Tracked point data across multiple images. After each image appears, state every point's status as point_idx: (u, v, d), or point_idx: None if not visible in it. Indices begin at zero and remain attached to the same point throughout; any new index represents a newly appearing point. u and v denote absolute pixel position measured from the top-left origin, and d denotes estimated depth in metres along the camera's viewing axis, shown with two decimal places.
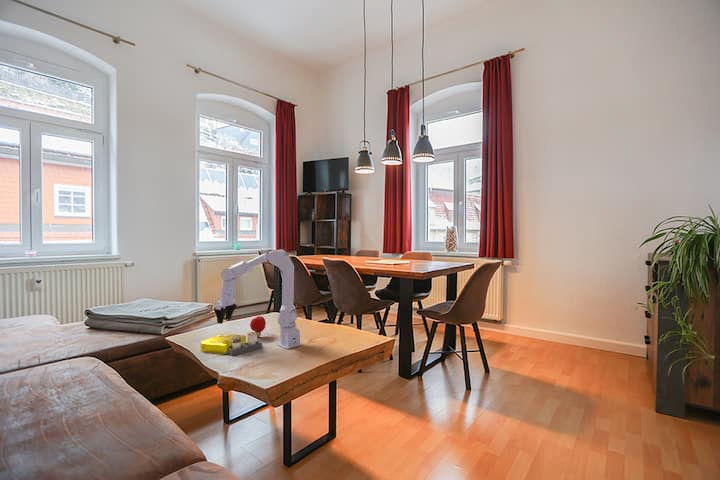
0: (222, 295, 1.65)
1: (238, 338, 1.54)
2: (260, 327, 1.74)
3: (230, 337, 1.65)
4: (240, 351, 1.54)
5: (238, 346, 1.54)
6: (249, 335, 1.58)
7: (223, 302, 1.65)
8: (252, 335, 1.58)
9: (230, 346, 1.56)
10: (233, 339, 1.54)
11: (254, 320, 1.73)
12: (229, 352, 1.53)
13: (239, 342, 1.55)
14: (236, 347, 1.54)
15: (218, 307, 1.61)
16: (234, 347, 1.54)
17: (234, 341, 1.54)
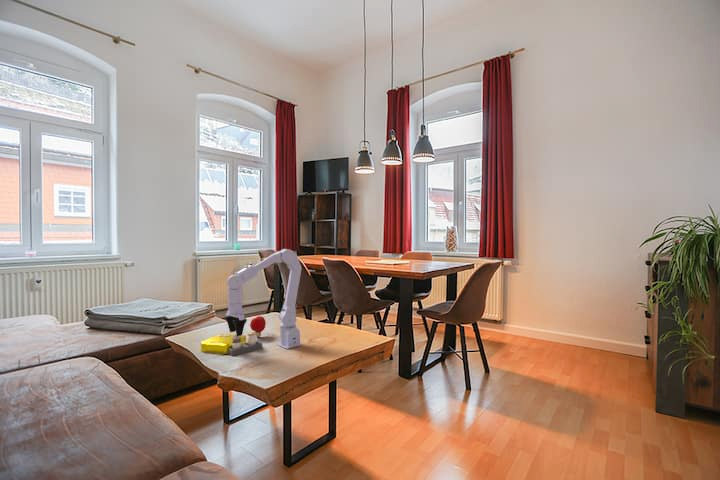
0: (235, 305, 1.52)
1: (238, 338, 1.54)
2: (260, 327, 1.74)
3: (230, 337, 1.65)
4: (240, 351, 1.54)
5: (238, 346, 1.54)
6: (249, 335, 1.58)
7: (238, 312, 1.53)
8: (252, 335, 1.58)
9: (230, 346, 1.56)
10: (233, 339, 1.54)
11: (254, 320, 1.73)
12: (229, 352, 1.53)
13: (239, 342, 1.55)
14: (236, 347, 1.54)
15: (242, 317, 1.50)
16: (234, 347, 1.54)
17: (234, 341, 1.54)
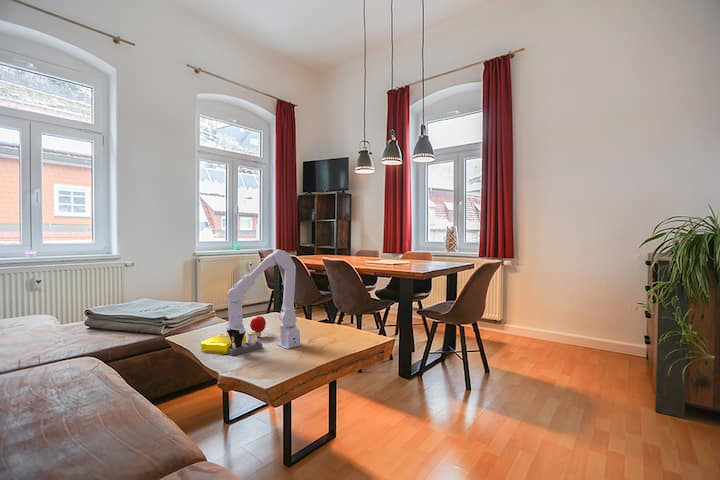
0: (235, 318, 1.53)
1: None
2: (260, 327, 1.74)
3: None
4: (240, 351, 1.54)
5: None
6: (249, 335, 1.58)
7: (238, 325, 1.53)
8: (252, 335, 1.58)
9: (230, 346, 1.56)
10: (233, 339, 1.54)
11: (254, 320, 1.73)
12: (229, 352, 1.53)
13: None
14: None
15: (243, 330, 1.50)
16: (234, 347, 1.54)
17: (234, 341, 1.54)
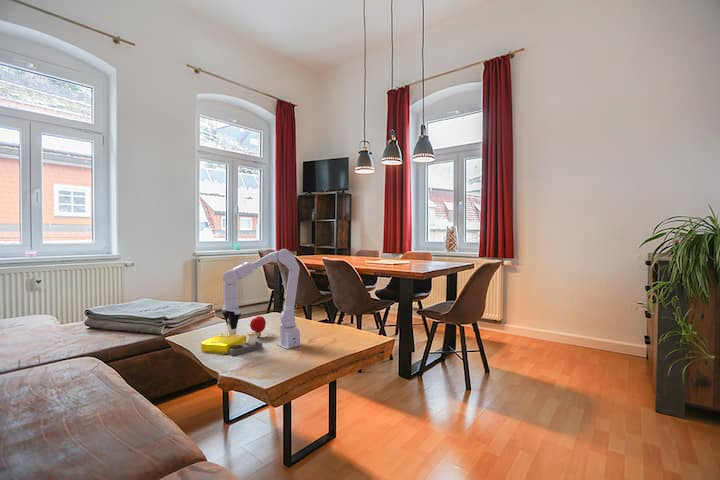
0: (231, 300, 1.55)
1: None
2: (260, 327, 1.74)
3: (230, 337, 1.65)
4: (240, 351, 1.54)
5: None
6: (249, 335, 1.58)
7: (233, 307, 1.56)
8: (252, 335, 1.58)
9: (231, 346, 1.56)
10: (228, 321, 1.56)
11: (254, 320, 1.73)
12: (229, 352, 1.53)
13: None
14: None
15: (238, 311, 1.53)
16: (229, 328, 1.56)
17: None
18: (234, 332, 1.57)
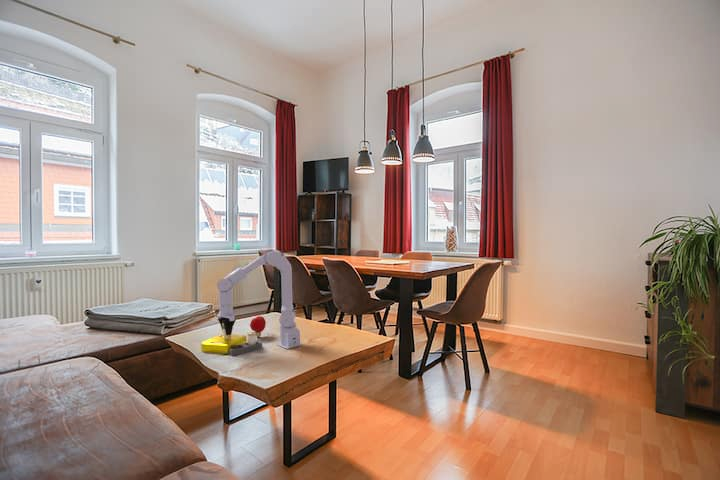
0: (226, 307, 1.59)
1: None
2: (260, 327, 1.74)
3: None
4: (240, 351, 1.54)
5: None
6: (249, 335, 1.58)
7: (228, 313, 1.60)
8: (252, 335, 1.58)
9: (231, 346, 1.56)
10: (223, 325, 1.60)
11: (254, 320, 1.73)
12: (229, 352, 1.53)
13: None
14: None
15: (233, 318, 1.57)
16: (224, 333, 1.60)
17: (224, 327, 1.60)
18: (229, 336, 1.61)
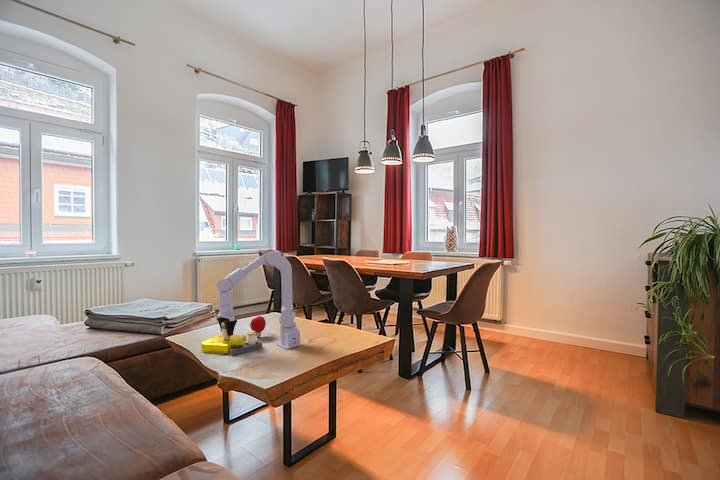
0: (226, 307, 1.59)
1: None
2: (260, 327, 1.74)
3: None
4: (240, 351, 1.54)
5: None
6: (249, 335, 1.58)
7: (228, 313, 1.60)
8: (252, 335, 1.58)
9: (231, 346, 1.56)
10: (223, 325, 1.60)
11: (254, 320, 1.73)
12: (229, 352, 1.53)
13: None
14: (226, 333, 1.61)
15: (233, 318, 1.57)
16: (224, 333, 1.60)
17: (224, 327, 1.60)
18: (228, 336, 1.61)
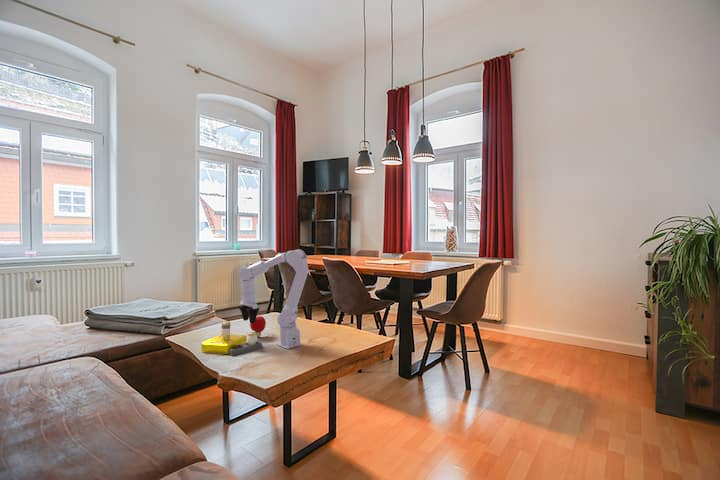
0: (248, 295, 1.65)
1: (228, 324, 1.61)
2: (260, 327, 1.74)
3: (231, 337, 1.64)
4: (240, 351, 1.54)
5: (227, 332, 1.61)
6: (249, 335, 1.58)
7: (251, 302, 1.65)
8: (252, 335, 1.58)
9: (231, 346, 1.55)
10: (223, 325, 1.61)
11: None
12: (229, 352, 1.53)
13: (228, 328, 1.62)
14: (225, 333, 1.61)
15: (255, 306, 1.62)
16: (223, 332, 1.61)
17: (224, 327, 1.60)
18: (228, 336, 1.61)
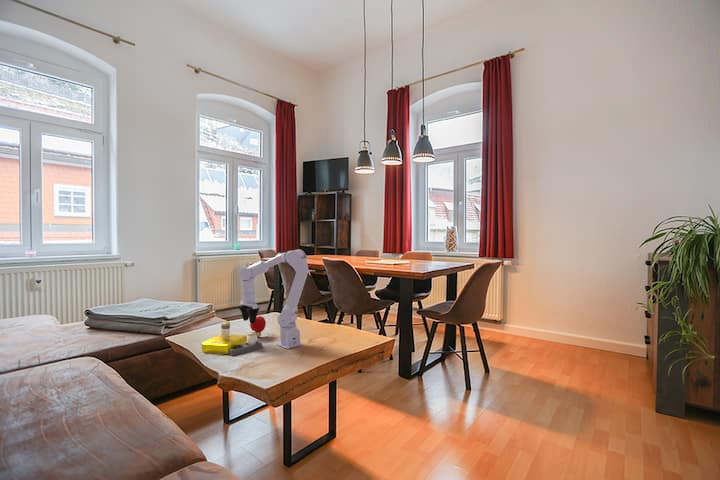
0: (248, 295, 1.65)
1: (227, 324, 1.61)
2: (260, 327, 1.74)
3: (231, 337, 1.64)
4: (240, 351, 1.54)
5: (226, 332, 1.61)
6: (249, 335, 1.58)
7: (251, 302, 1.65)
8: (252, 335, 1.58)
9: (232, 346, 1.55)
10: (222, 325, 1.60)
11: None
12: (229, 352, 1.53)
13: (228, 328, 1.61)
14: (224, 333, 1.60)
15: (255, 306, 1.62)
16: (222, 333, 1.60)
17: (223, 327, 1.60)
18: (227, 336, 1.61)
